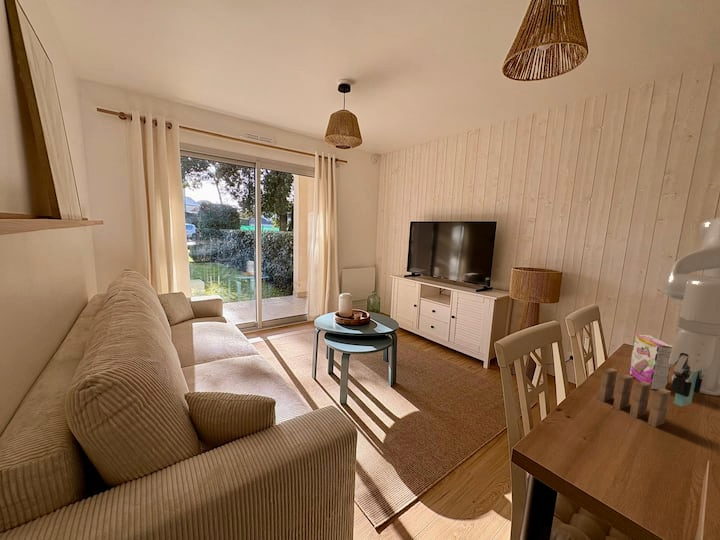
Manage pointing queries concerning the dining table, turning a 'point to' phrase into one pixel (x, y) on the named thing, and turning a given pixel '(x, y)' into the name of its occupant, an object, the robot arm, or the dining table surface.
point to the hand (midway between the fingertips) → (685, 391)
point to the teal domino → (684, 400)
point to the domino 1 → (607, 384)
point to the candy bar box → (650, 361)
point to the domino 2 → (623, 391)
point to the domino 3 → (640, 399)
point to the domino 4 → (659, 407)
